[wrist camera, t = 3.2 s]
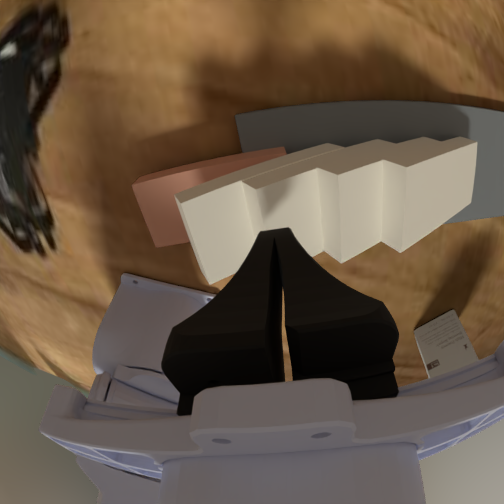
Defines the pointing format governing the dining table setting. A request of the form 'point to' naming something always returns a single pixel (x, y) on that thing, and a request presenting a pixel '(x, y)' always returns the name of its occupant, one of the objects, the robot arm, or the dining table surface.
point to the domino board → (388, 135)
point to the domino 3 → (356, 199)
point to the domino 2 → (295, 196)
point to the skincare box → (444, 345)
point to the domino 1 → (228, 215)
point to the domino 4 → (425, 189)
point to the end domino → (179, 179)
